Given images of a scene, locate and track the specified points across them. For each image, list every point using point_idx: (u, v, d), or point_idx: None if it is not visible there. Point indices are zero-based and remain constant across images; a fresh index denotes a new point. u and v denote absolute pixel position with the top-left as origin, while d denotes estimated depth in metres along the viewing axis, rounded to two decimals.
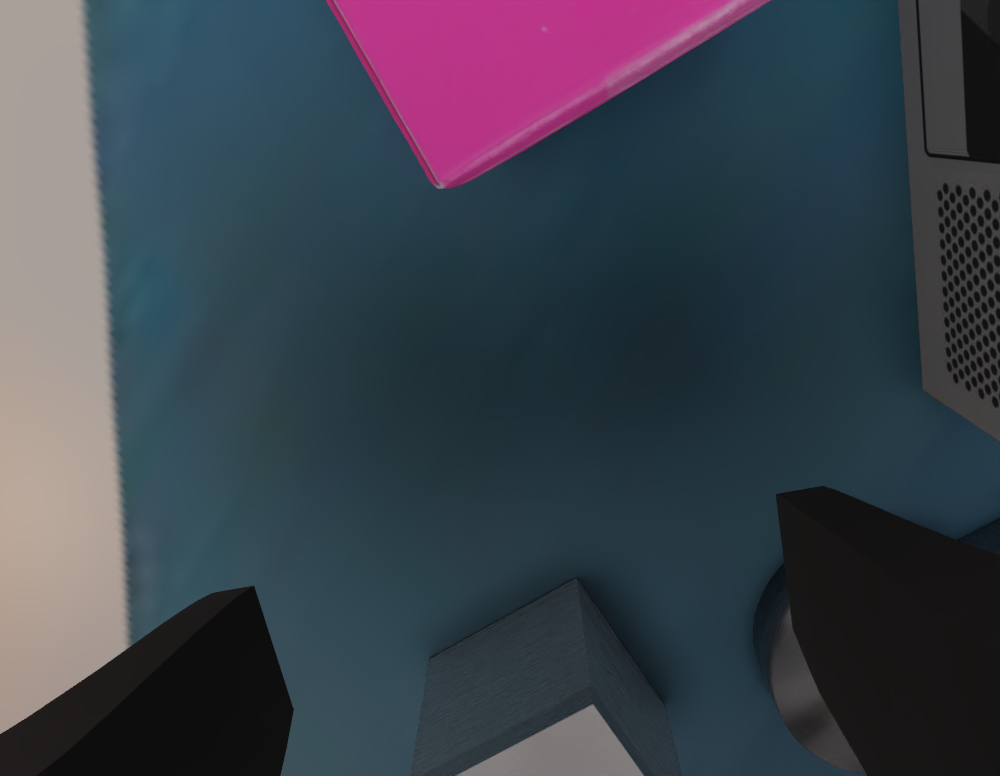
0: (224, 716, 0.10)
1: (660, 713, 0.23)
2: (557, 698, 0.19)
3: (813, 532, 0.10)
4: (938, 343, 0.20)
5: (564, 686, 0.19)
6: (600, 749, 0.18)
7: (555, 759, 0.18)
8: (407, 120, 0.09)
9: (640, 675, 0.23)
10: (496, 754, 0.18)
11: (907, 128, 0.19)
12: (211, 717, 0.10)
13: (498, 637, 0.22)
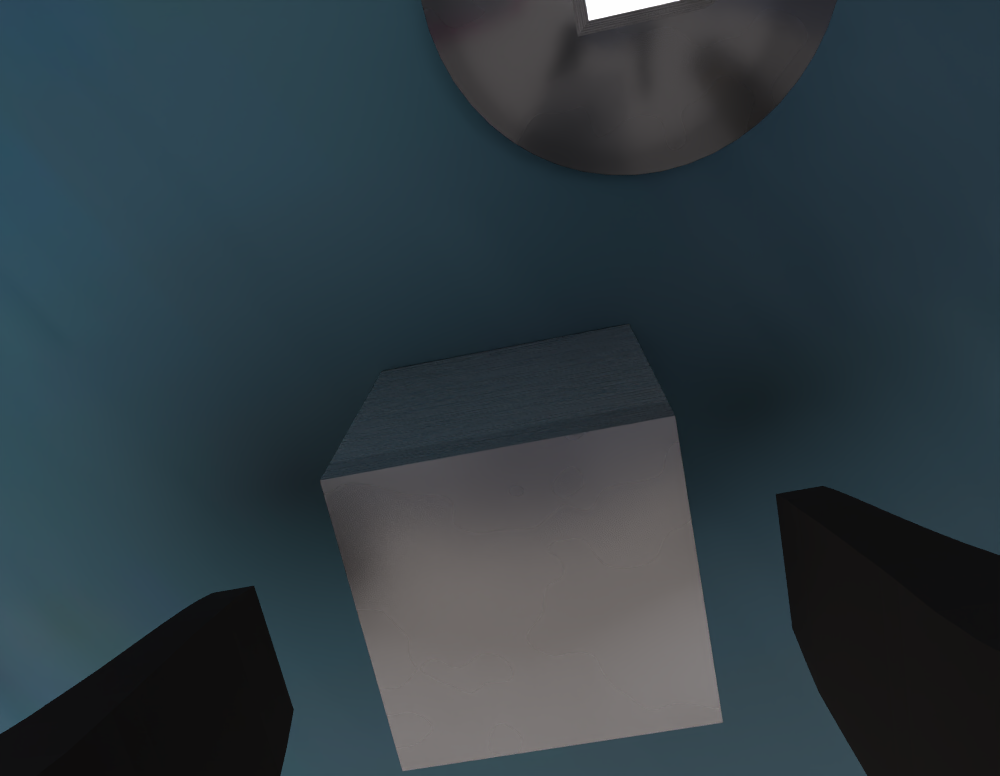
0: (224, 716, 0.10)
1: (605, 341, 0.15)
2: None
3: (813, 532, 0.10)
4: None
5: None
6: (405, 496, 0.11)
7: (400, 563, 0.12)
8: None
9: (553, 343, 0.16)
10: (366, 634, 0.12)
11: None
12: (210, 718, 0.10)
13: None
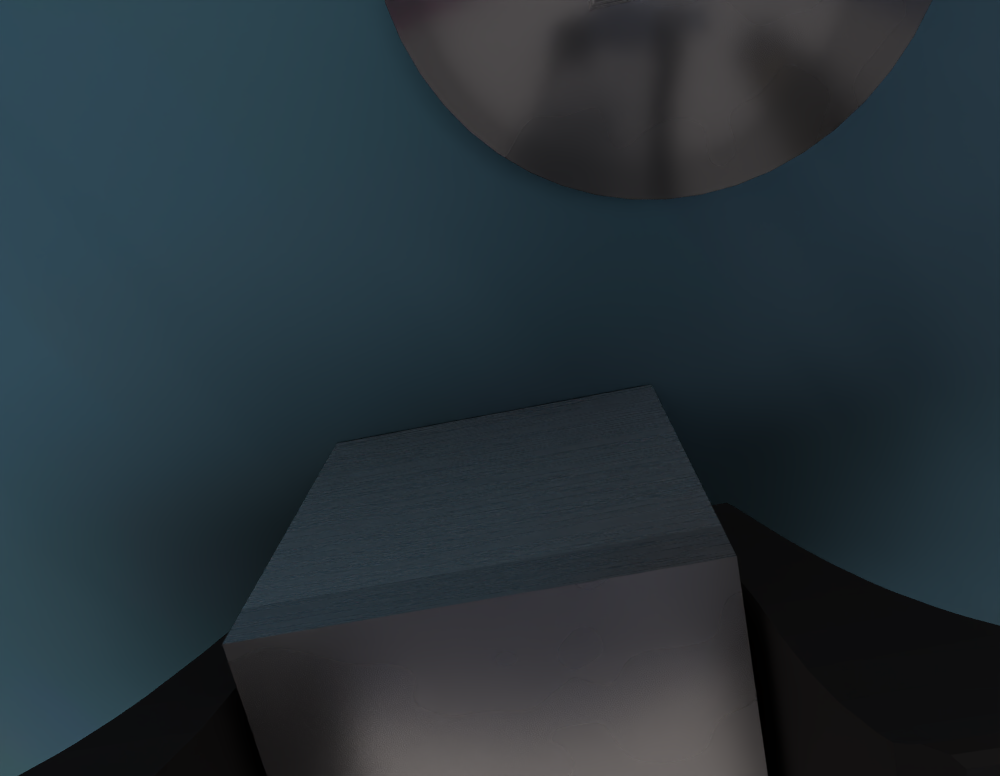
0: None
1: (623, 410, 0.12)
2: None
3: None
4: None
5: None
6: (345, 666, 0.08)
7: (340, 755, 0.08)
8: None
9: (554, 409, 0.12)
10: None
11: None
12: None
13: None
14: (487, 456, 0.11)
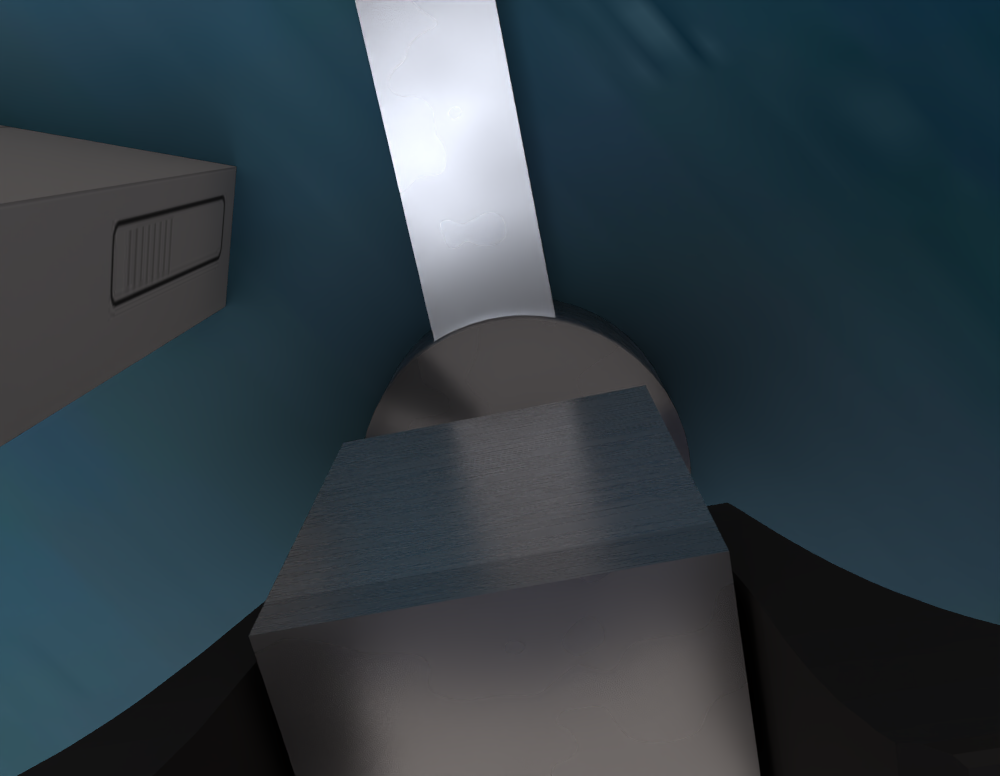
0: None
1: (619, 410, 0.12)
2: None
3: None
4: None
5: None
6: (364, 655, 0.08)
7: (359, 738, 0.09)
8: None
9: (553, 409, 0.13)
10: None
11: None
12: None
13: None
14: (490, 455, 0.12)
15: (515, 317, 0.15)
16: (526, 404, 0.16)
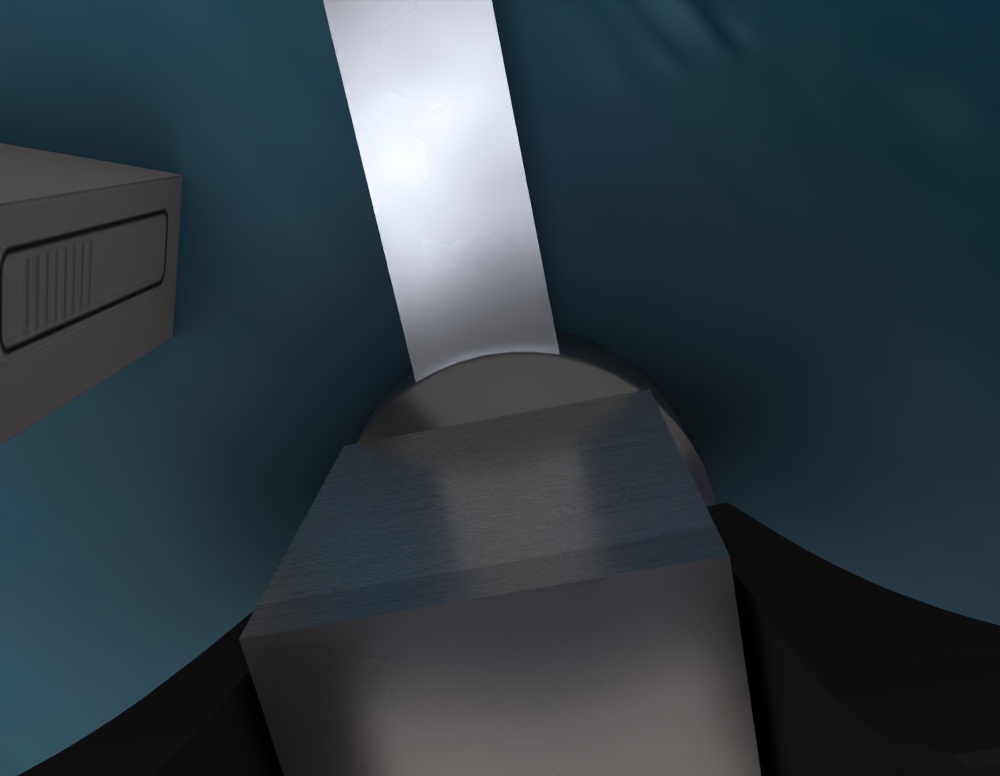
0: None
1: (622, 414, 0.12)
2: None
3: None
4: None
5: None
6: (356, 659, 0.08)
7: (351, 745, 0.09)
8: None
9: (555, 413, 0.13)
10: None
11: None
12: None
13: None
14: (490, 458, 0.11)
15: (512, 354, 0.13)
16: None
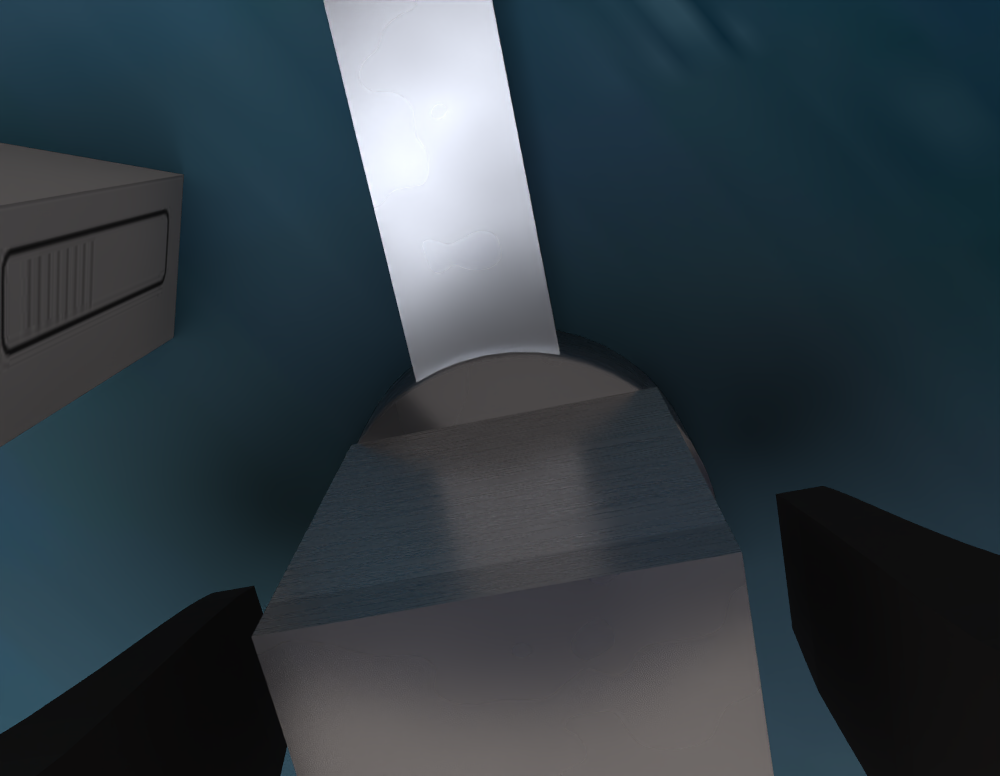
0: (224, 716, 0.10)
1: (630, 412, 0.12)
2: None
3: (813, 532, 0.10)
4: None
5: None
6: (369, 658, 0.08)
7: (364, 743, 0.09)
8: None
9: (563, 412, 0.13)
10: None
11: None
12: (212, 718, 0.10)
13: None
14: (499, 457, 0.11)
15: (512, 354, 0.13)
16: None
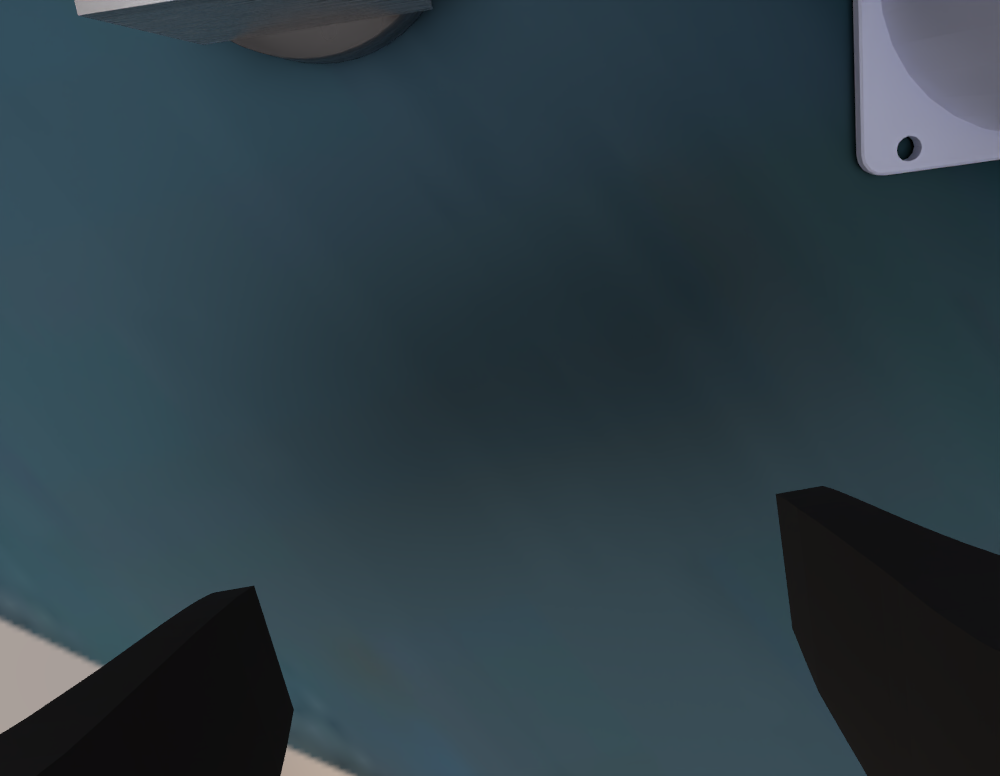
0: (224, 716, 0.10)
1: None
2: None
3: (813, 532, 0.10)
4: None
5: None
6: None
7: None
8: None
9: None
10: None
11: None
12: (212, 717, 0.10)
13: None
14: None
15: None
16: None
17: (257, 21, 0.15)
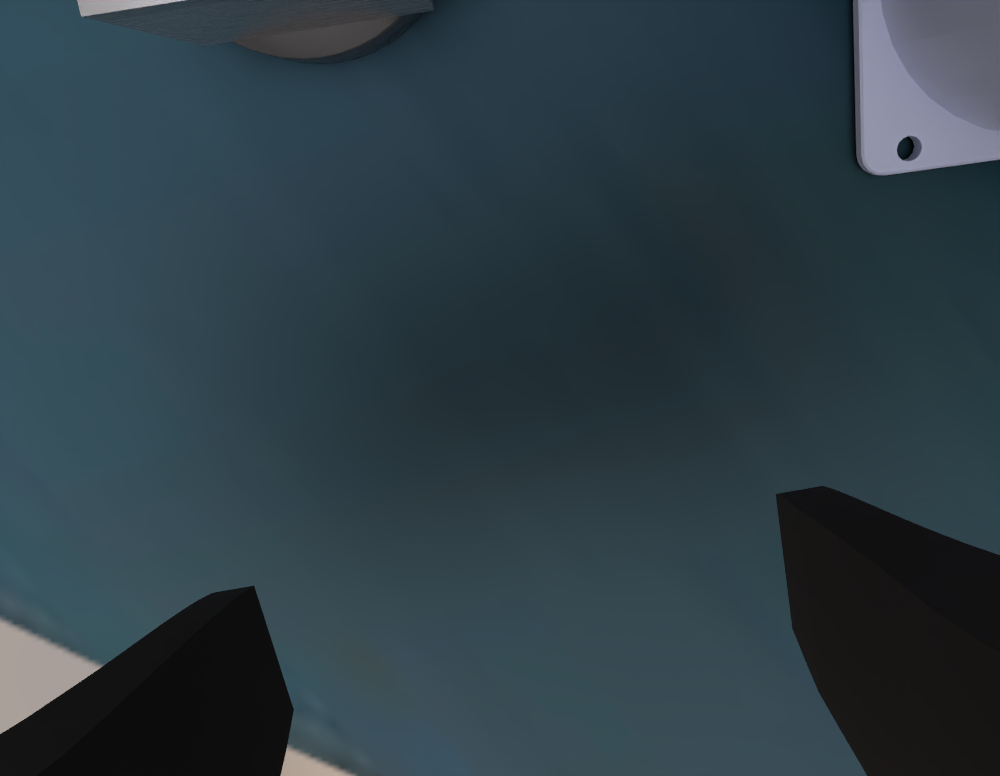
0: (224, 716, 0.10)
1: None
2: None
3: (813, 532, 0.10)
4: None
5: None
6: None
7: None
8: None
9: None
10: None
11: None
12: (212, 717, 0.10)
13: None
14: None
15: None
16: None
17: (259, 22, 0.15)
